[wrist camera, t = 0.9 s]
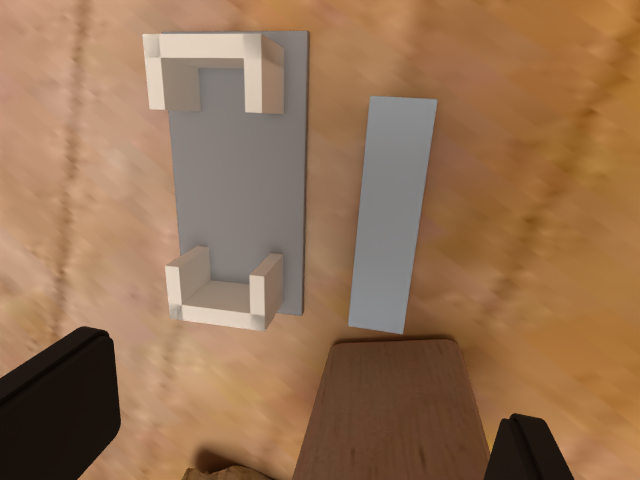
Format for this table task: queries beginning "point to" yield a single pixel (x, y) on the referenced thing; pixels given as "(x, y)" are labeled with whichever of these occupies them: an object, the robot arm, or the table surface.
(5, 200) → the table surface
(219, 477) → the rock
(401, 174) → the blue-grey rectangular bar
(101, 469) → the table surface
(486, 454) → the wooden block
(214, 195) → the endcap board
